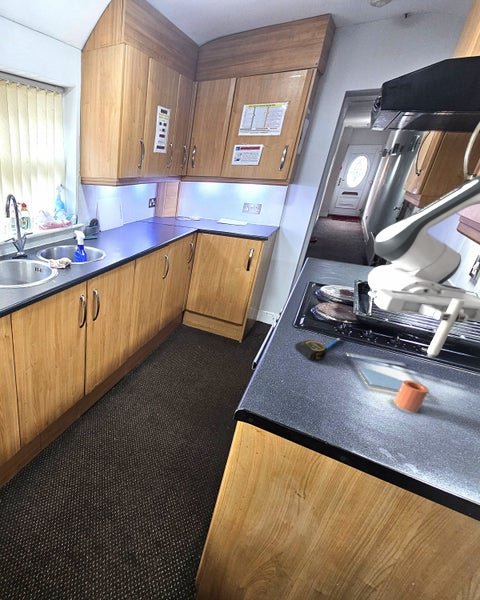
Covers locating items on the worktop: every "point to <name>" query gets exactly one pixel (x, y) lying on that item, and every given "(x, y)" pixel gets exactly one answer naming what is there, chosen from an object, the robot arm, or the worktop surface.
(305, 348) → the tape measure
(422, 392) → the pen pot
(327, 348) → the pencil
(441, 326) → the stylus
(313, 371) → the worktop surface
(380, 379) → the tablet
